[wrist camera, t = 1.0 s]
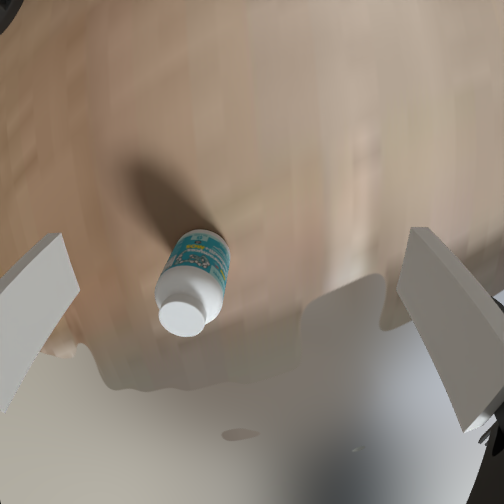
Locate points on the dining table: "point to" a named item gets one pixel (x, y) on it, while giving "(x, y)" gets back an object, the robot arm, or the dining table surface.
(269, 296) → the dining table surface
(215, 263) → the pill bottle
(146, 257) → the dining table surface
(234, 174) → the dining table surface
